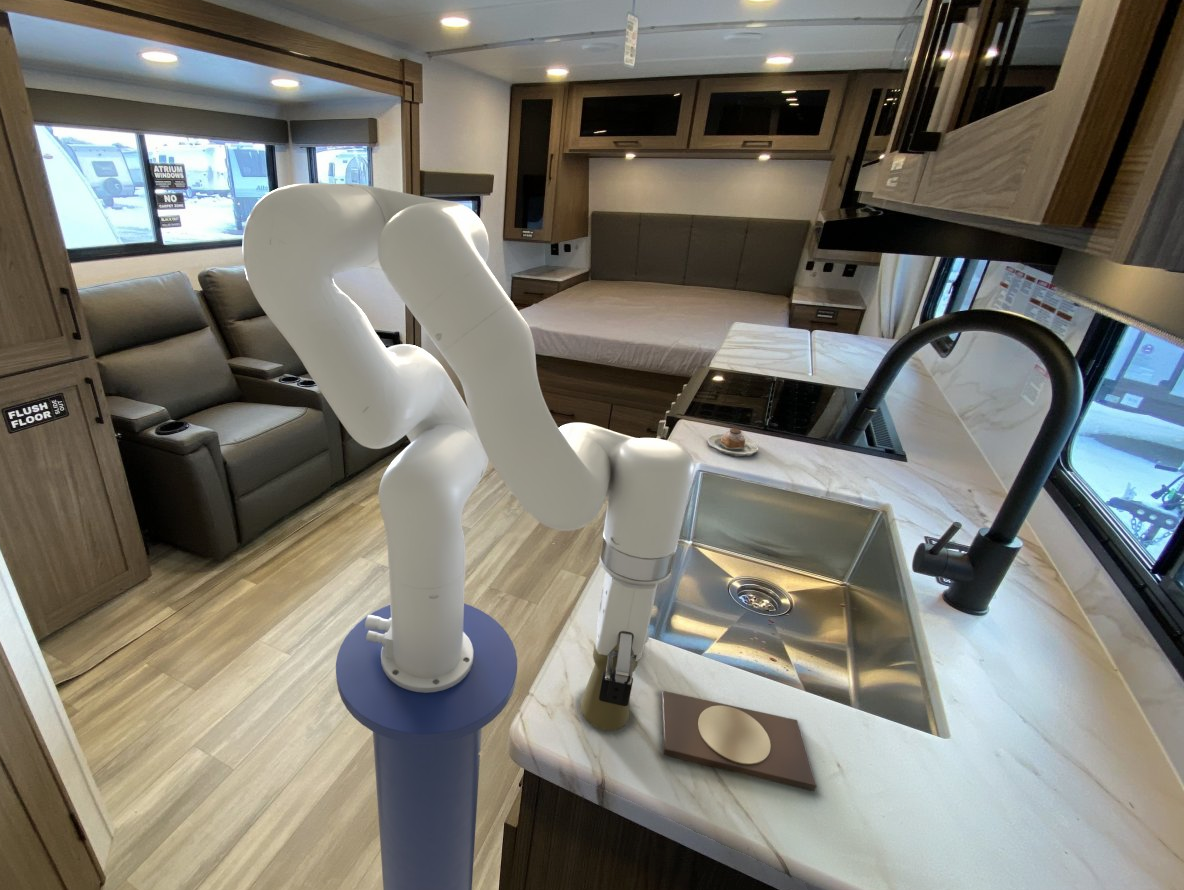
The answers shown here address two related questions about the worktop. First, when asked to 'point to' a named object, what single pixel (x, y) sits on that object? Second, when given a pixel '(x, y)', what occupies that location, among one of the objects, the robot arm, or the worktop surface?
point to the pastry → (733, 443)
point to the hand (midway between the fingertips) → (614, 670)
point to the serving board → (735, 740)
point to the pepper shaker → (599, 711)
